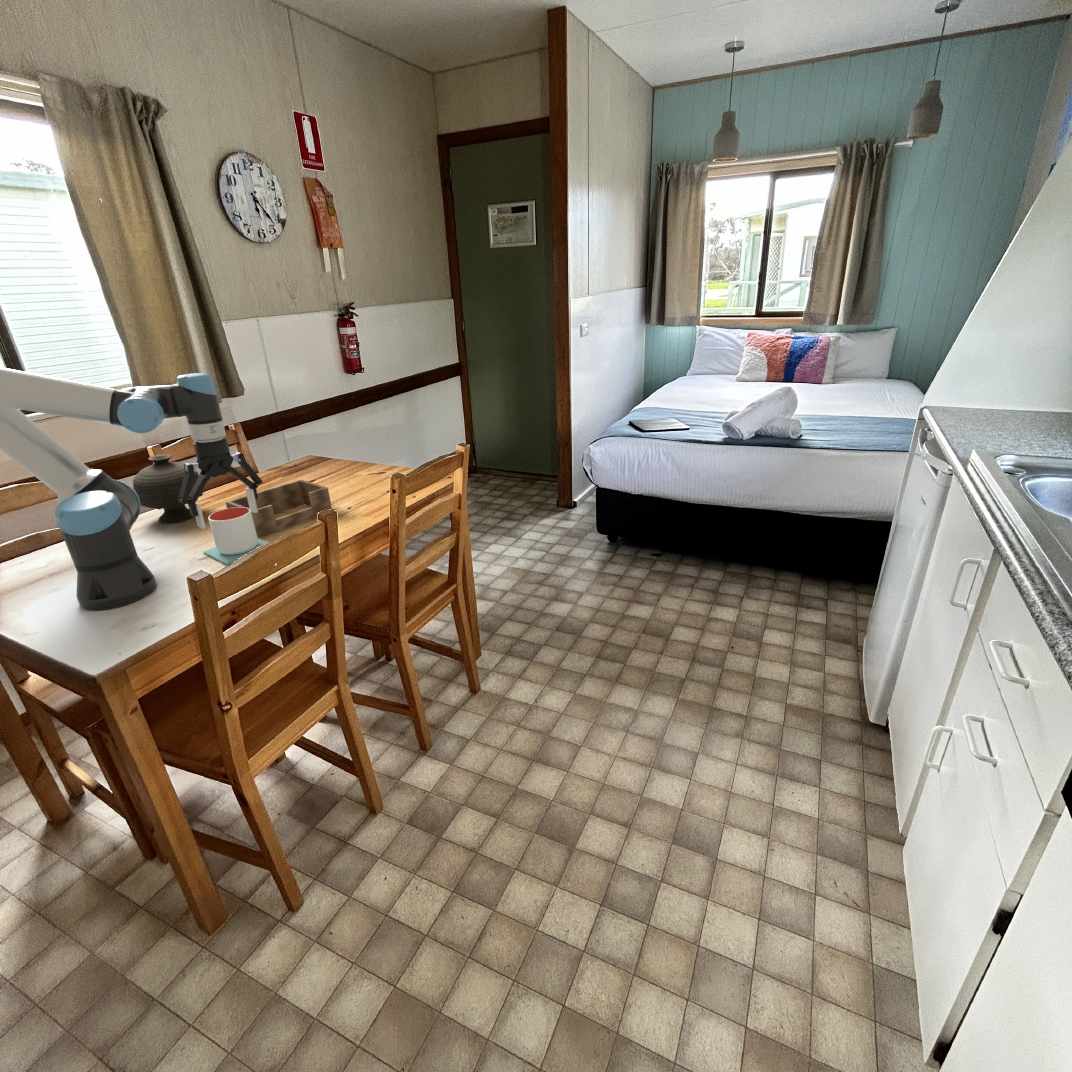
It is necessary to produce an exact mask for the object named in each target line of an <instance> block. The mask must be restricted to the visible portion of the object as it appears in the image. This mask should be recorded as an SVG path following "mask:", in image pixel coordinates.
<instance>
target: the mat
mask: <svg viewBox="0 0 1072 1072" xmlns="http://www.w3.org/2000/svg"><path fill="white" fill-rule="evenodd" d="M266 543H269V542H267V541H265V540H263V539H261V538H259V539H258V544H257V545H256V547H254V548H253V549H252V550H254V549H256V548H257V547H259V546H262V545H264V544H266ZM252 550H250V551H252ZM250 551H247V552H245V553H241V554H236V555H225V554H222V553H220V552H219V551H218V550H217V548H216V546H214V547H212V548H209V549H206V550H204V551H202V553H203V554H204V555H206V556H208V557H209V558H211V559H213V560H215V561H217V562H219V563H221V564H223V565H225V566H227V565H228V566H229V565H230V566H231V565H232V564H231V563H233V562H234V561H236V560H238V558H240V557H242V556H244V555H245V554H248V553H249V552H250ZM233 564H234V563H233Z"/></svg>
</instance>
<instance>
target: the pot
mask: <svg viewBox="0 0 1072 1072" xmlns="http://www.w3.org/2000/svg"><path fill="white" fill-rule="evenodd" d="M172 458H173V457H172V455H171V454H169V453H167V454H164V453H163V454H159V455H157V454H156V455H152V456H149V457H148V459H147V460H148V461H149V462H151V463H153V464H151V465H148V466H146V467H144V468H143V469H141V470H139V472H138V473H136V475H135V476H134V477H133V479H132V488H133V489H134V490H135V491H136V493H137V494H138V496H139V499H140V507H141V506H142V507H144V508H149V509H156V510H163V513H162V514H161V515H160V516H159V517H158V522H159V523H161V524H177V523H182V522H185V521H187V520H190V519H193V518H194V516H192V515H191V514H190V510H189V507H187V506H186V504H183V503H180V502H179V501H178V497H179V493H180V489H181V485H182V481H183V477H184V473H185V470H184V464H185V463H183V462H179V461H170V459H172ZM198 475H199V472H198V471H197V470H196V472H194V478H193V482H192V486H191V490H192V488H193V487H194V485H195V483H196V481H197V479H198ZM191 490H190V492H191ZM203 490H204V489H203ZM203 490H202V492H201V494H200V496H199V498H200V497H203V495H204V492H203Z"/></svg>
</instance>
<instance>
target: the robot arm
mask: <svg viewBox="0 0 1072 1072" xmlns="http://www.w3.org/2000/svg"><path fill="white" fill-rule="evenodd" d="M21 410H22V411H28V412H34V413H40V414H47V415H52V416H58V417H64V418H65V417H66V418H71V419H78V420H83V421H89V422H97V423H100V424H101V423H102V424H107V425H114V426H118V427H124V428H125V429H126V430H128V431H130V432H133V433H135V434H147V433H149V432H152V431H154V430H155V429H157V428H159V427H160V425H162V423H163V420H164V419H171V418H181V417H186V422H187V425H188V427H189V428H188V429H189V434H190V437H191V439H192V440H193V442H192V444H193V449H194V452H195V456H196V462H193V463H192V462H191V463H189V462H185V463H184V470H185V473H184V477H183V481H182V485H181V489H180V493H179V497H178V501H179V502H180V503H183V504H185V505H188V509H189V510H190V514H191V515H192V516H194V517H195V520H196V525H197V527H199V528H200V529H207V527H206V524H205V519H204V515H203V511H202V507H201V504H200V502H198V500H199V498H200V497H199V496H200V494H201V492H202V490H204V488H205V486H206V485H207V483H208V481H210V479H211V478H216V477H219V476H224V475H227V473H229V474H230V475H232V476H233V477H234V478H236V479H237V480H239V481H241V482H242V483H243V484H245V485H246V486H247V487H245V494H246V496H247V499H248V503H249V508H250V510H251V512H254V513H257V512H258V510H257V505H256V501H255V500H256V499H258V495H257V489H258V488H259V485H262V484H263V480H262V479H261V478H260V476H259V475H258V474H257V473H256V471H255V470H254V469H253V468H252V466H250V464H249V463H248V462H247V460H246V458H245V455H244V453H243V452H241V451H240V452H239V451H235V452H234V453H232V454H231V453H230V451H231V450H230V446H229V441H228V438H227V437H226V435H227V433H226V428H225V425H224V424H225V423H224V420H223V416H222V411H221V406H220V402H219V397H218V392H217V389H216V387H215V382H214V379H213V377H212V376H211V375H210V374H208V373H204V372H203V373H202V372H194V373H186V374H180V375H178V376H177V378H176V383H174V384H167V385H149V386H148V385H145V386H139V385H136V386H134V387H125V388H124V387H123V388H121V389H117V388H111V387H108V386H107V387H106V386H102V385H97V384H91V383H87V382H81V381H76V380H70V379H66V378H65V379H64V378H61V377H55V376H49V375H43V374H39V373H33V372H28V371H22V370H17V369H12V368H6V367H1V366H0V451H2V452H3V453H4V454H6V455H7V456H8V457H9V458H11V459H12V460H14V461H15V462H16V463H17V464H19V465H20V466H21V467H22V468H23V469H25V470H26V471H28V472H29V473H30V474H31V475H33V476H34V477H35V478H37V479H38V480H39V481H40V482H41V483H43V484H44V485H45V486H47V487H48V488H49V489H51V490H52V491H53V492H54V493H55V494H56V495H57V505H56V507H55V509H54V515H55V522H56V525H57V527H58V529H59V531H60V533H61V535H62V537H63V540H64V543H65V546H66V548H67V550H68V552H69V555H70V557H71V560H72V562H73V565H74V567H75V570H76V599H77V601H78V604H79V606H80V608H82V609H83V610H88V611H102V610H110V609H114V608H119V607H124V606H126V605H129V604H132V603H135V602H137V601H139V600H141V599H143V598H145V597H147V596H148V595H150V594H151V593H152V592H153V591H155V589H156V588H157V586H158V583H157V581H156V577H155V575H154V574H153V572H152V571H151V570H150V569H149V567H148V566H147V565H146V564H145V563H144V561H143V560H142V559H141V558H140V557H139V555H138V552H137V549H136V546H135V543H134V541H133V540H134V539H133V538H132V535H131V532H130V531H131V529H132V527H133V525H134V524H135V523H136V522H137V519H138V518H139V517H140V510H141V505H140V499H139V496H138V494H137V493H136V491H135V490H134V488H133V486H131V485H130V484H128V483H127V482H125V481H122V480H119V479H114V478H112V477H111V476H110V475H108V474H107V473H106V472H105V471H103V469H98V468H97V469H96V468H95V469H94V468H90V467H89V466H87V465H86V464H85V463H83V462H82V461H81V460H80V459H79V458H77V456H75V455H74V454H72V452H70V451H69V450H68V449H67V448H66V447H64V446H63V445H62V444H60V442H58V441H57V440H56V439H55V438H53V437H52V436H51V435H49V433H47V432H46V431H45V430H44V429H43V428H41V427H40V426H39V425H38V424H37V423H35V421H33V420H32V419H30V418H29V417H28V416H27V415H26V414H25V413H23V412H22V411H21ZM234 461H235V462H236V463H237V464H238V465H240V467H241V468H242V470H243V472H245V473H246V474H247V476H248V477H249V478H250V479H249V478H248V477H246V476H245V475H244V474H242V473H241V472H240V471H238V470H237V469H236V468H235V467H233V466H232V463H233V462H234ZM197 469H200V472H198V479H197V481H196V483H195V485H194V487H193V488H192V490H191V486H192V482H193V478H194V472H196V471H197ZM190 490H191V492H190ZM194 517H193V518H194Z"/></svg>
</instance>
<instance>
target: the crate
mask: <svg viewBox="0 0 1072 1072" xmlns="http://www.w3.org/2000/svg"><path fill="white" fill-rule="evenodd" d="M257 495H258V499H256V500H255V501H256V505H257V510H258V512H257V513H254V512H251V514H252V518H253V522H254V526H255V530H256V534H257V538H258V539H261V538H264V537H267V536H270V535H272V534H276V533H278V532H282V531H284V530H287V529H289V528H292V527H295V526H299V525H300V524H304V523H306V522H309V521H312V520H315V519H318V518H317V513H318V512H320V511H322V510H325V509H332V510H333V507H332V501H331V497H330V496H331V495H330V491H329V488H328V487H327V486H324V485H321V484H317V483H314V482H309V481H307V480H304V479H298V480H294V481H290V482H288V483H285V484H282V485H278V486H275V487H274V486H273V487H270V488H267V489H264V490H261V491H258V492H257ZM224 502H225V506H226V509H227V508H234V507H245V508H249V503H248V499H247V495H244V496H241V497H237V498H233V499H231V500H226V501H224ZM301 506H308V507H307V508H304V509H300V510H298V511H295V512H292V513H288V514H285V515H283V516H280V517H277V518H276V516H275V515H278V514H280V513H283V512H286V511H287V512H288V511H290V510H293V509H296V508H298V507H301ZM249 509H250V508H249Z"/></svg>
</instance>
